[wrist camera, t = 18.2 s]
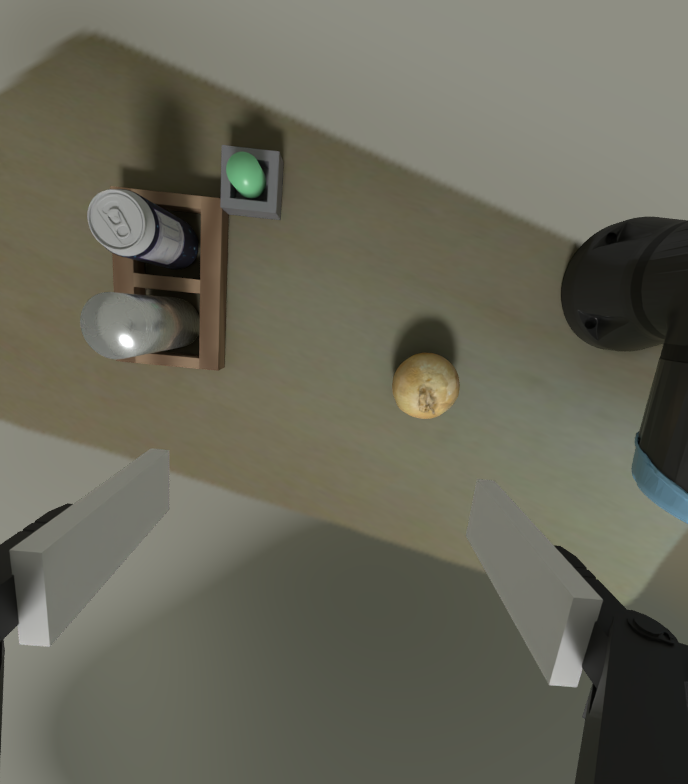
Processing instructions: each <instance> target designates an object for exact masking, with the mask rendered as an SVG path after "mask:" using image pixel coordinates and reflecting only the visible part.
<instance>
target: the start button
mask: <svg viewBox="0 0 688 784" xmlns="http://www.w3.org/2000/svg"><path fill="white" fill-rule="evenodd" d="M226 173H227V177H228V179H229V181H230V182H231V183H232V185H233V186H234V187H235V188H236V189H237V191H238V192H239V193H240V194H241V195H242V196H244V197H246V198H251V199H252V198H257V197H259V196H260V195H261V194H262V193H263V192H264V190H265V188H266V176H265V174H264V172H263V170H262V168H261V167H260V165H259V163H258V161H257V160H256V158H255V157H254V156H253V155H251V154H250V153H247V152H237V153H235V154H233V155H232V156H231V157H230V158H229V160H228V162H227V166H226Z"/></svg>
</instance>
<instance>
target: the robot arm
mask: <svg viewBox="0 0 688 784" xmlns="http://www.w3.org/2000/svg"><path fill="white" fill-rule="evenodd" d="M561 298H562V307H563V312H564V315H565V318H566V320H567V322H568V324H569V326H570V327H571V329H572V330H573V331H574V333H575V334H576V335H577V336H578V337H579V338H581V339H582V340H583V341H585V342H586V343H588V344H590V345H592V346H595V347H598V348H602V349H608V350H615V351H635V350H641V349H645V348H649V347H653V346H657V345H661V344H664V345H663V349H662V352H661V356H660V358H659V362H658V365H657V369H656V373H655V376H654V380H653V383H652V387H651V391H650V394H649V398H648V401H647V405H646V409H645V412H644V416H643V420H642V423H641V427H640V430H639V432H637V433H636V437H635V446H636V449H635V454H634V458H633V463H632V475H633V478H634V479H635V481H636V482H637V485H638V487H639V488H640V490H641V491H642V492H643V493H644V494H645V495H646V496H647V497H648V498H649V499H650V500H652V501H653V502H654V503H655V504H657V505H658V506H659V507H661V508H662V509H664V510H665V511H667V512H668V513H670V514H671V515H673V516H675V517H676V518H678V519H680V520H681V521H683V522H685V523H687V524H688V221H686V220H677V219H669V218H659V217H639V218H633V219H629V220H626V221H623V222H619V223H616V224H613V225H611V226H608V227H606V228H604V229H602V230H601V231H599V232H597V233H596V234H594V235H593V236H592V237H590V238H589V239H588V240H587V241H586V242H585V243H584V244H583V245H582V246H581V247H580V248H579V249H578V251H577V252H576V253H575V255H574V256H573V258H572V260H571V261H570V263H569V265H568V268H567V270H566V273H565V276H564V280H563V284H562V294H561ZM168 510H169V450H162V449H149V450H148V451H147V452H145V453H144V454H142V455H141V456H140V457H138V458H137V459H135V460H134V461H133V462H131V463H130V464H129V465H127V466H126V467H124V468H123V469H122V470H120V471H119V472H117V473H116V474H115V475H113V476H112V477H110V478H109V479H108V480H106V481H105V482H104V483H102V484H101V485H99V486H98V487H97V488H95V489H94V490H92V491H91V492H90V493H88V494H87V495H85V496H84V497H83V498H81V499H80V500H79V501H77V502H76V503H74V504H65V505H63V506H61V507H58V508H56V509H54V510H51V511H49V512H47V513H46V514H45V515H43V516H42V517H40V518H39V519H37V520H36V521H35V522H34V523H31V524H30V525H28V526H27V527H25V528H24V529H23V531H20V532H18V533H17V534H15V535H14V536H12V537H11V538H9V539H8V540H6V541H5V542H4V543H2V544H1V545H0V752H1V728H2V703H3V678H4V654H5V648H4V641H3V639H4V638H5V637H6V636H7V635H8V634H9V633H10V632H11V631H12V630H13V629H14V628H15V627H16V626H17V625H18V633H19V634H18V635H19V642H20V643H19V644H21V645H35V646H47V647H50V646H51V645H52V644H53V642H54V641H55V640H56V639H57V638H58V637H59V636H60V635H61V633H62V632H63V631H64V630H65V629H66V628H67V626H68V625H69V624H70V623H71V622H72V621H73V620H74V619H75V617H76V616H77V615H78V614H79V613H80V612H81V610H82V609H83V608H84V607H85V606H86V605H87V603H88V602H89V601H90V600H91V599H92V598H93V597H94V596H95V594H96V593H97V592H98V591H99V590H100V589H101V587H102V586H103V585H104V584H105V583H106V582H107V581H108V579H109V578H110V577H111V576H112V575H113V574H114V573H115V571H116V570H117V569H118V568H119V567H120V565H121V564H122V563H123V562H124V561H125V560H126V559H127V557H128V556H129V555H130V554H131V553H132V552H133V551H134V550H135V548H136V547H137V546H138V545H139V544H140V543H141V541H142V540H143V539H144V538H145V537H146V536H147V535H148V533H149V532H150V531H151V530H152V529H153V528H154V526H155V525H156V524H157V523H158V522H159V521H160V520H161V518H162V517H163V516H164V515H165V514H166V513H167V512H168ZM466 537H467V539H468V540H469V542H470V544H471V546H472V548H473V549H474V551H475V553H476V555H477V557H478V558H479V560H480V562H481V564H482V566H483V567H484V569H485V571H486V573H487V575H488V576H489V578H490V580H491V582H492V584H493V585H494V587H495V589H496V591H497V592H498V594H499V596H500V598H501V600H502V601H503V603H504V605H505V607H506V608H507V610H508V612H509V614H510V616H511V618H512V619H513V621H514V623H515V625H516V627H517V628H518V630H519V632H520V634H521V636H522V637H523V639H524V641H525V643H526V644H527V646H528V648H529V650H530V652H531V653H532V655H533V657H534V659H535V661H536V662H537V664H538V666H539V668H540V670H541V671H542V673H543V675H544V677H545V679H546V680H547V682H548V684H549V685H555V686H556V685H557V686H570V687H577V685H578V682H579V679H580V675H581V672H582V669H584V671H585V672H586V674H587V675H588V677H589V678H590V680H591V681H592V683H593V684H592V687H591V691H590V694H589V697H588V700H587V703H586V706H585V709H584V713H583V716H582V717H583V718H585V724H584V730H583V737H582V742H581V748H580V754H579V760H578V767H577V773H576V779H575V784H688V645H684V644H681V643H678V641H677V639H676V637H675V636H674V635H673V634H672V633H671V632H670V631H669V630H668V629H667V628H665V627H664V626H663V625H661V624H660V623H659V622H657V621H655V620H654V619H652V618H650V617H648V616H646V615H644V614H641V613H639V612H636V611H633V610H627V609H626V608H625V607H624V606H623V605H622V604H621V603H620V602H619V601H618V600H617V599H616V598H615V597H614V596H613V595H612V594H611V593H610V592H609V591H608V590H607V589H606V587H605V586H604V585H603V584H602V583H601V582H600V581H599V580H597V579H596V577H595V576H594V575H593V574H592V573H591V572H590V571H589V570H587V568H586V567H585V566H584V565H583V563H582V562H581V561H580V560H579V559H578V558H577V557H576V556H574V555H573V554H571V553H570V552H568V551H567V550H566V549H564V548H563V547H561V546H554V545H553V544H552V543H551V542H550V541H549V540H548V539H547V538H546V537H545V535H544V534H543V533H542V532H541V531H540V530H539V529H538V528H537V527H536V526H535V524H534V523H533V522H532V521H531V520H530V519H529V518H528V517H527V516H526V515H525V513H524V512H523V511H522V510H521V509H520V508H519V507H518V506H517V505H516V504H515V502H514V501H513V500H512V499H511V498H510V497H509V496H508V495H507V494H506V493H505V491H504V490H503V489H502V488H501V487H500V486H499V485H498V484H497V483H496V482H495V481H494V480H483V479H477V482H476V487H475V492H474V497H473V502H472V507H471V512H470V517H469V522H468V528H467V533H466Z"/></svg>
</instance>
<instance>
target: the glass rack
mask: <svg viewBox="0 0 688 784" xmlns="http://www.w3.org/2000/svg"><path fill="white" fill-rule="evenodd" d="M110 189H126V190H130V191H133V192H135V193H137V194H139V195H140V196H142V197H144V198H146V199H147V200H149V201H151V202H152V203H154V204H156V205H158V206H159V207H161V208H163V209H164V210H171V211H181V212H190V213H199V214H201V257H200V280H197V279H187V278H177V277H167V276H157V275H148V274H145V262H141V261H137V260H133V259H129V258H125V257H121V256H118V255H116V254H114V253H112V255H113V282H114V292H115V293H127V294H139V295H145V288H149V289H159V290H168V291H178V292H188V293H198V294H200V337H199V355H192V354H182V353H171V352H161V351H160V352H155V353H150V354H145V355H140V356H135V357H130V358H125V359H116V361H122V362H133V363H144V364H154V365H165V366H175V367H186V368H197V369H207V370H220V369H222V368H224V367H225V331H226V294H227V258H228V222H229V214H228V213H227V212H225V211H224V210H223V209H222V208H221V207H220V203H221V198H213V197H204V196H195V195H186V194H177V193H168V192H159V191H150V190H140V189H131V188H122V187H113V186H110Z"/></svg>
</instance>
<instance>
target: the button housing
mask: <svg viewBox="0 0 688 784" xmlns="http://www.w3.org/2000/svg"><path fill="white" fill-rule="evenodd" d="M237 152H247V153H250V154H251V155H253V156H254V157H255V158H256V160H257V161H258V163H259V165H260V167H261V168H262V170H263V172H264V174H265V176H266V188H265V190H264V192H263V193H262V194H261V195H260V196H259V197H257V198H252V199H251V198H246V197H244V196H242V195H241V194H240V193H239V192H238V191H237V189H236V188H235V187H234V186H233V185H232V183H231V182H230V181H229V179H228V177H227V173H226V166H227V162H228V160H229V158H230V157H231V156H232V155H233V154H235V153H237ZM283 166H284V163H283V160H282V157H281V155H280V152H279V151H270V150H261V149H253V148H244V147H235V146H226V145H222V159H221V203H220V207H221V208H222V209H223V210H224V211H225V212H227V213H228V214H230V215H239V216H248V217H258V218H267V219H276V220H280V219H281V201H282V184H283Z"/></svg>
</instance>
